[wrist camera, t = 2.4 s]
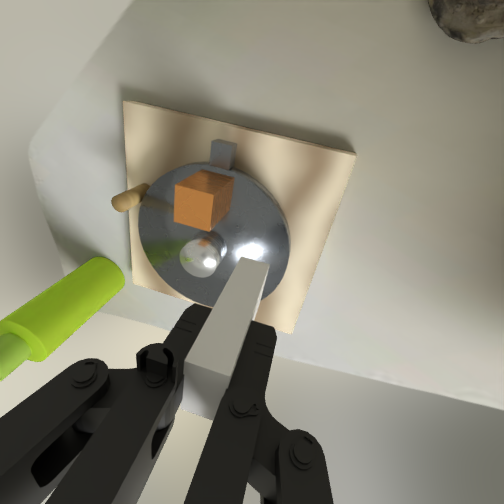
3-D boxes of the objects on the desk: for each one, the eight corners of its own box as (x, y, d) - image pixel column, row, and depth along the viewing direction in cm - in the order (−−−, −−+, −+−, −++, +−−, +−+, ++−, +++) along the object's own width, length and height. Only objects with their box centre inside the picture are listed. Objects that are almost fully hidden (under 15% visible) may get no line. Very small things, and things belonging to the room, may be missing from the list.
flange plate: (271, 317, 33) (259, 361, 27) (147, 277, 35) (112, 312, 29) (317, 162, 23) (313, 184, 18) (144, 120, 25) (91, 127, 20)
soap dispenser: (135, 275, 39) (-16, 413, 22) (113, 297, 42) (-33, 431, 26) (102, 245, 38) (-85, 366, 21) (82, 270, 41) (-93, 392, 24)
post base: (356, 153, 25) (361, 168, 20) (293, 326, 36) (286, 363, 31) (132, 100, 28) (87, 101, 22) (139, 277, 39) (110, 304, 34)
